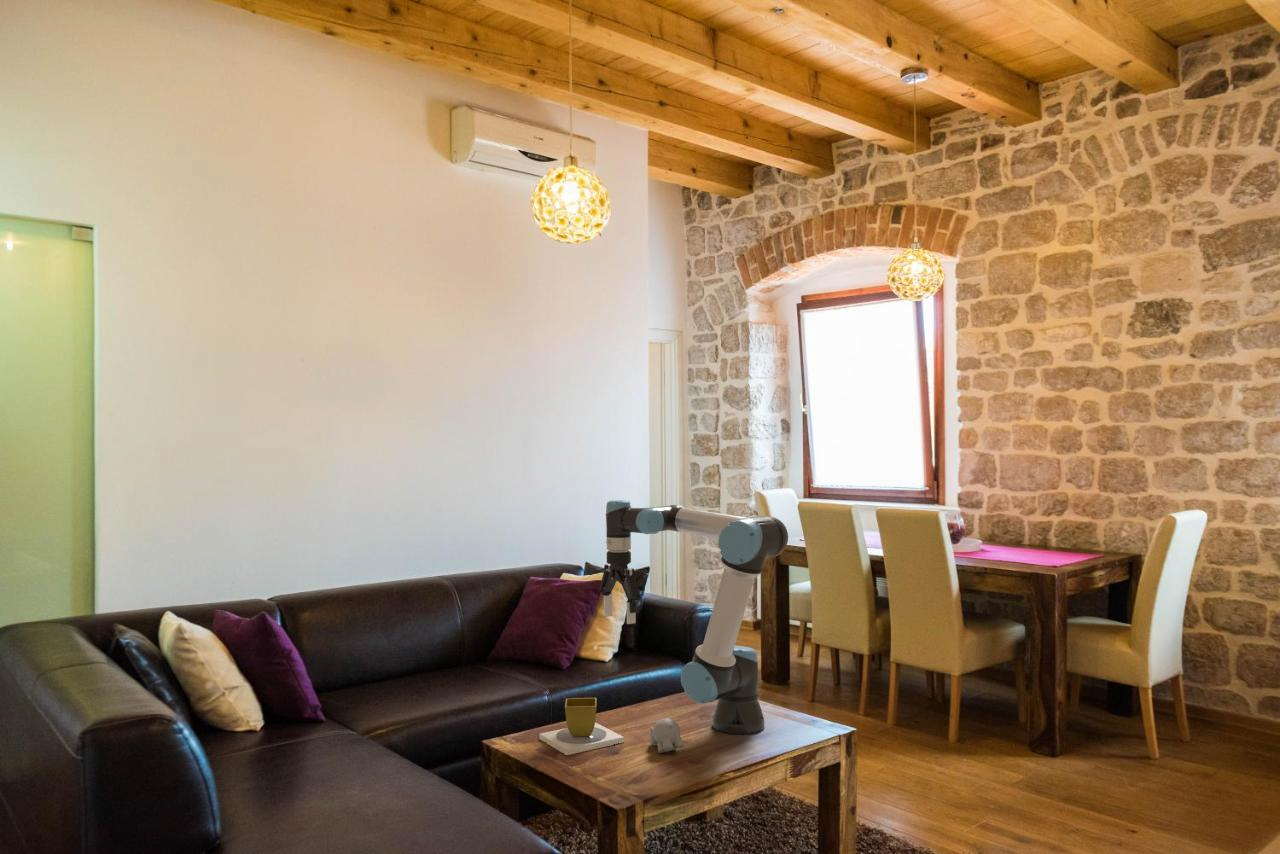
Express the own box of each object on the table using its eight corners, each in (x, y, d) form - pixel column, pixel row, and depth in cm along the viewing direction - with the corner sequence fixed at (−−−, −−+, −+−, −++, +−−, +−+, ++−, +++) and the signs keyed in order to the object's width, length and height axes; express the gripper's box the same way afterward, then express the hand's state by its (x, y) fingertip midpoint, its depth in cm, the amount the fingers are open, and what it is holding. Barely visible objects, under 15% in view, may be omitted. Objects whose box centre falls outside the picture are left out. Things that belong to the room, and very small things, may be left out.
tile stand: (623, 742, 247) (623, 735, 247) (566, 755, 238) (566, 748, 238) (595, 727, 261) (595, 721, 261) (539, 739, 251) (539, 732, 251)
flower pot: (566, 729, 253) (565, 697, 254) (596, 728, 254) (596, 697, 254) (565, 739, 245) (564, 706, 245) (596, 739, 245) (596, 706, 245)
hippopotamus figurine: (666, 752, 247) (660, 720, 250) (688, 747, 237) (682, 714, 240) (644, 756, 243) (638, 724, 246) (665, 751, 234) (659, 718, 237)
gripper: (588, 547, 283) (588, 614, 283) (629, 555, 262) (630, 628, 262) (608, 546, 287) (609, 612, 287) (651, 553, 266) (652, 625, 266)
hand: (619, 619), depth 274 cm, fingers open, 13 cm apart
